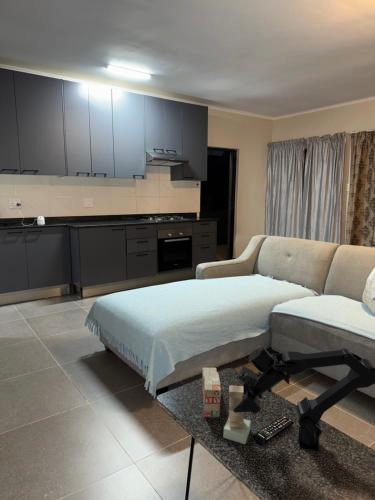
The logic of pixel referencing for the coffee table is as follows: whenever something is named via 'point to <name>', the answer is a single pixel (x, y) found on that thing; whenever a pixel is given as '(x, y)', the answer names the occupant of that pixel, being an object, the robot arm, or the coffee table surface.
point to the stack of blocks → (211, 392)
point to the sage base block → (237, 432)
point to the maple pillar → (234, 400)
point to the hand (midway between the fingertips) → (234, 403)
